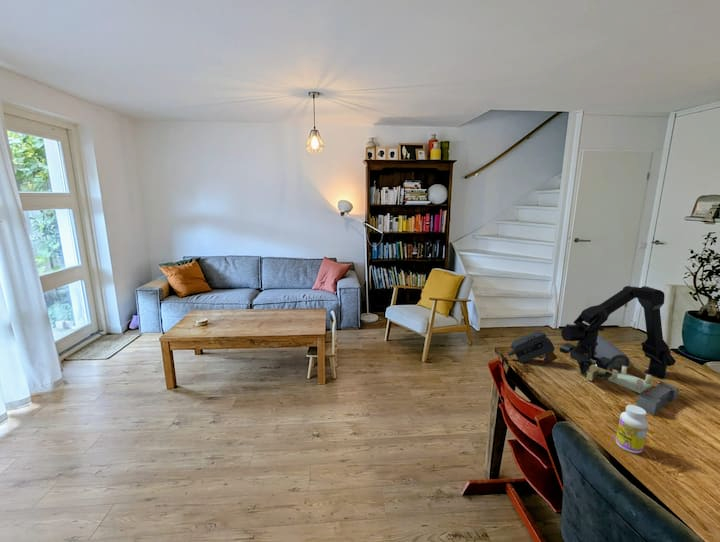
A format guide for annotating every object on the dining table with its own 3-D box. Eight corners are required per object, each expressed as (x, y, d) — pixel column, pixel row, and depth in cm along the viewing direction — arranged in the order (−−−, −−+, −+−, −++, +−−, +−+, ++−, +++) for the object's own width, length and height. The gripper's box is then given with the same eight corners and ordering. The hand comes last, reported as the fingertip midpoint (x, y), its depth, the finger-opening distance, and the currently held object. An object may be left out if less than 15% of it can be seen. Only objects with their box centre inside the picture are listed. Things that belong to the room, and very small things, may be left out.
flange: (591, 365, 151) (591, 365, 151) (614, 374, 143) (614, 374, 143) (580, 370, 146) (580, 370, 146) (603, 380, 139) (603, 379, 139)
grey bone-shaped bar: (658, 393, 130) (661, 381, 129) (676, 400, 125) (678, 388, 124) (635, 407, 121) (638, 395, 120) (653, 415, 116) (656, 402, 115)
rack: (621, 373, 144) (623, 364, 143) (653, 385, 135) (655, 375, 134) (608, 380, 139) (610, 370, 138) (640, 393, 129) (642, 383, 128)
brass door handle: (591, 366, 149) (592, 359, 148) (607, 372, 144) (608, 364, 143) (580, 377, 140) (581, 369, 140) (597, 383, 136) (598, 375, 135)
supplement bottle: (609, 439, 105) (616, 403, 102) (629, 437, 106) (636, 401, 103) (628, 455, 99) (635, 417, 96) (648, 453, 99) (657, 415, 96)
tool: (561, 360, 150) (547, 332, 148) (519, 376, 155) (505, 349, 154) (556, 354, 155) (542, 327, 154) (516, 369, 161) (502, 343, 159)
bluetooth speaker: (579, 350, 166) (582, 331, 164) (599, 351, 165) (603, 332, 162) (605, 373, 144) (609, 352, 142) (629, 375, 143) (633, 353, 140)
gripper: (554, 335, 141) (549, 368, 145) (603, 353, 125) (596, 390, 129) (569, 330, 147) (564, 362, 150) (618, 347, 131) (611, 382, 134)
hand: (582, 374), depth 141 cm, fingers closed
